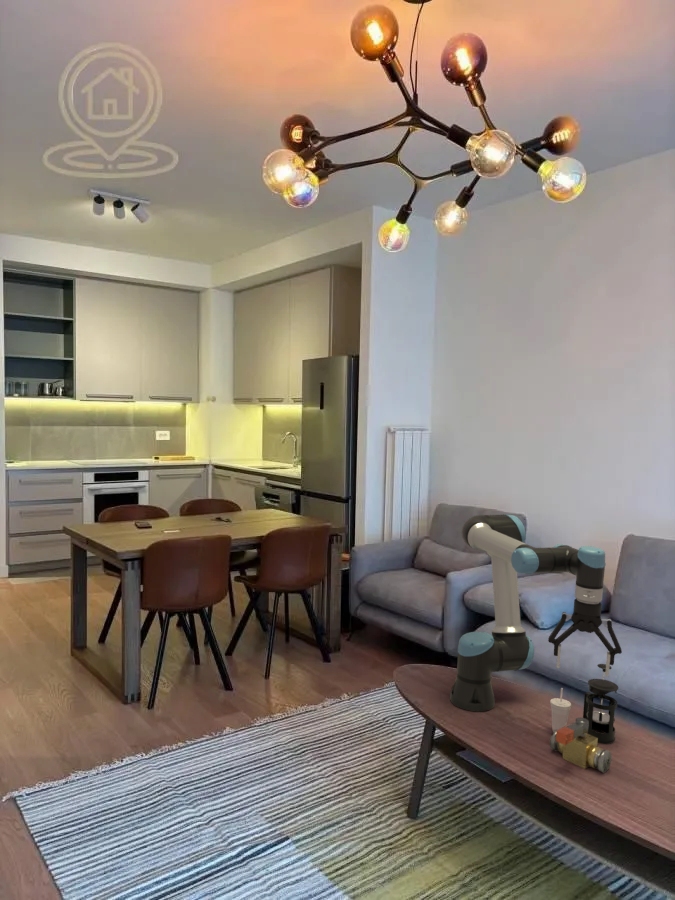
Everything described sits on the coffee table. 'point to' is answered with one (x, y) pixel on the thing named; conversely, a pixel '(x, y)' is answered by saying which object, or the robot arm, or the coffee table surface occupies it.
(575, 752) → the pipe valve
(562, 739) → the lever
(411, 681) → the coffee table surface
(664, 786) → the coffee table surface
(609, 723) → the french press
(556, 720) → the smoothie
